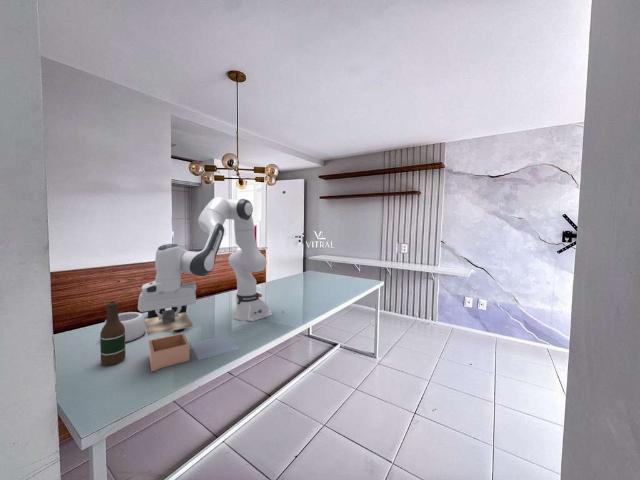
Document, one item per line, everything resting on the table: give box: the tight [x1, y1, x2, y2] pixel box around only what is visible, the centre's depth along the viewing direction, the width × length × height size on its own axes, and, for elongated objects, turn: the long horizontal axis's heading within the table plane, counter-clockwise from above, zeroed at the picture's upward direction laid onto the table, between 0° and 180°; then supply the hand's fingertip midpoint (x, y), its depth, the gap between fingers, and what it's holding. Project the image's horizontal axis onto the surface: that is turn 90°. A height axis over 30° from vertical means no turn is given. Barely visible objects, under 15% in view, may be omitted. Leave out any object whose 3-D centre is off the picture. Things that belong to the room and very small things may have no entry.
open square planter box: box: [148, 332, 190, 373], centre depth 105 cm, size 13×13×7 cm
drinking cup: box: [170, 305, 188, 333], centre depth 131 cm, size 8×8×20 cm
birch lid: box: [144, 309, 194, 336], centre depth 104 cm, size 15×15×5 cm
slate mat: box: [189, 334, 240, 361], centre depth 116 cm, size 17×17×1 cm
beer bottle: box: [99, 301, 127, 367], centre depth 101 cm, size 8×8×24 cm
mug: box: [102, 311, 147, 343], centre depth 120 cm, size 21×17×10 cm
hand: (168, 317), depth 104 cm, fingers closed on birch lid, 4 cm apart
